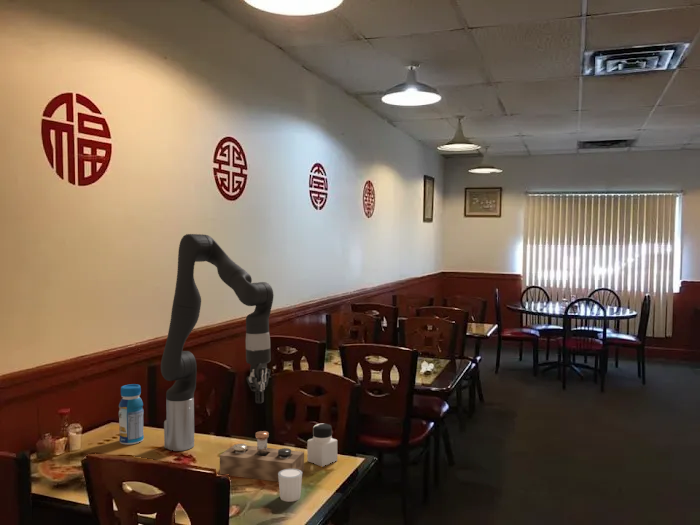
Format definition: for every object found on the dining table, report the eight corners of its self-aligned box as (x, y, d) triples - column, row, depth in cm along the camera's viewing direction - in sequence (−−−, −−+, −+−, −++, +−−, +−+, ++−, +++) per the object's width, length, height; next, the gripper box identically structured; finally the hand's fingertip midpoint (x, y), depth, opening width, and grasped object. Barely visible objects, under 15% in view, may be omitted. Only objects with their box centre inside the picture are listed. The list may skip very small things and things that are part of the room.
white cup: (292, 504, 163) (292, 479, 162) (273, 498, 166) (272, 474, 166) (307, 495, 168) (307, 471, 168) (288, 490, 172) (288, 466, 172)
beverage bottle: (139, 445, 209) (138, 389, 208) (115, 445, 209) (114, 389, 208) (147, 437, 217) (146, 383, 217) (124, 437, 218) (123, 383, 217)
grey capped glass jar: (276, 475, 182) (275, 452, 181) (281, 470, 185) (281, 447, 185) (288, 476, 180) (288, 453, 180) (293, 471, 184) (293, 449, 184)
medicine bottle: (337, 461, 194) (337, 424, 194) (322, 467, 189) (322, 430, 189) (322, 455, 199) (322, 420, 199) (306, 461, 194) (306, 425, 194)
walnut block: (219, 474, 184) (219, 455, 183) (234, 462, 193) (234, 444, 193) (292, 483, 177) (292, 463, 177) (304, 470, 186) (304, 451, 186)
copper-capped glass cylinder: (253, 457, 183) (253, 434, 183) (259, 453, 187) (258, 430, 187) (265, 458, 182) (265, 435, 182) (270, 454, 186) (270, 431, 186)
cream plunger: (231, 470, 186) (231, 447, 185) (237, 465, 190) (237, 443, 189) (243, 471, 185) (243, 448, 184) (249, 466, 188) (248, 444, 188)
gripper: (256, 343, 191) (257, 396, 191) (237, 350, 178) (238, 407, 179) (277, 343, 189) (279, 398, 189) (260, 351, 176) (261, 409, 176)
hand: (259, 402), depth 184 cm, fingers closed
